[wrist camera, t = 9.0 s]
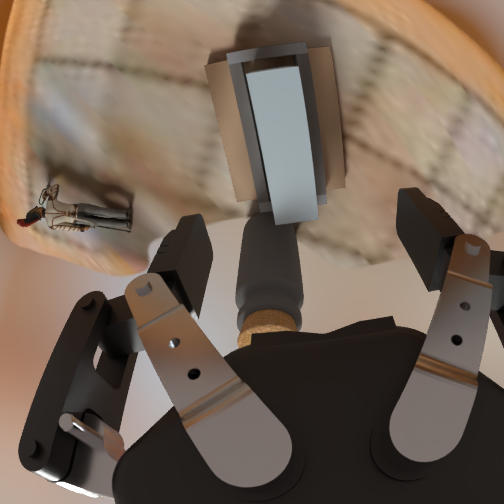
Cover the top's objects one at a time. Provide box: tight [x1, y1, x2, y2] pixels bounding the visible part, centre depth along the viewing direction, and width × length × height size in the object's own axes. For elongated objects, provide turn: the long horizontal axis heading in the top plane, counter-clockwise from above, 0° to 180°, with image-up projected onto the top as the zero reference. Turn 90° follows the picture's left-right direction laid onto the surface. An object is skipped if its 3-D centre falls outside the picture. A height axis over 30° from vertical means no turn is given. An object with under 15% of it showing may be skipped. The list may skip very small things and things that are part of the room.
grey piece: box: [204, 42, 345, 213], centre depth 24 cm, size 11×15×3 cm
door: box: [246, 66, 319, 225], centre depth 22 cm, size 3×11×8 cm, turn 11°
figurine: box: [17, 184, 131, 233], centre depth 30 cm, size 6×4×15 cm
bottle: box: [236, 211, 304, 348], centre depth 27 cm, size 6×6×15 cm
